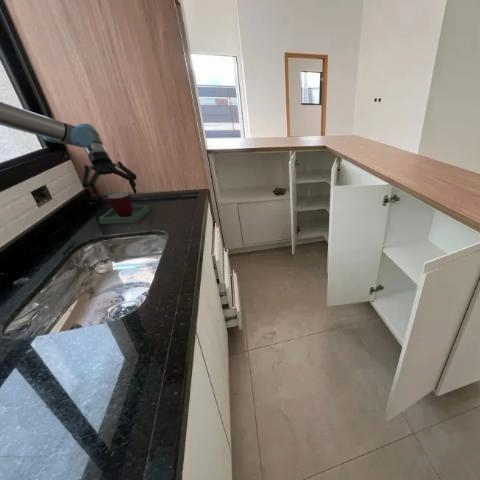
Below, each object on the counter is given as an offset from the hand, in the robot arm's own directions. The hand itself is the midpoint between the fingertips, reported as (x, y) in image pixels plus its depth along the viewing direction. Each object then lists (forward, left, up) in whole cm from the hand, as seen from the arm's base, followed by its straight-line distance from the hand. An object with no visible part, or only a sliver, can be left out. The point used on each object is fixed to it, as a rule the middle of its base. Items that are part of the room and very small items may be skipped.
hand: (118, 195), depth 118 cm
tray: (+2, -2, -10) cm, 10 cm away
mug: (+1, -2, -9) cm, 9 cm away
